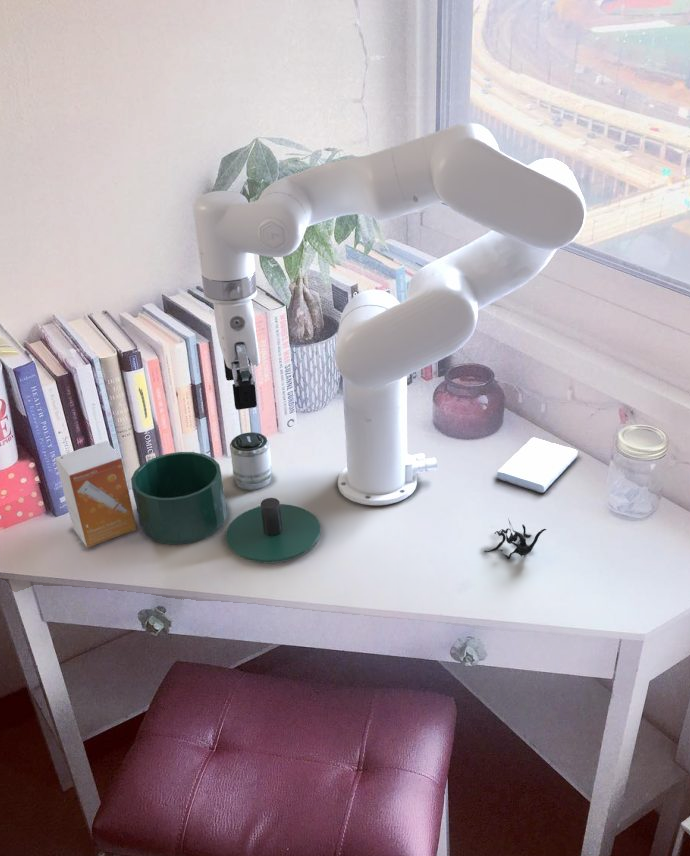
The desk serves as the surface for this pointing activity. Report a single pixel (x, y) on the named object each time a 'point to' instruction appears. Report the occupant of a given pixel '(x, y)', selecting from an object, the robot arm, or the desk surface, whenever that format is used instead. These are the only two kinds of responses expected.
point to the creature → (522, 547)
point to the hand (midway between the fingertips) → (241, 392)
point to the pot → (179, 497)
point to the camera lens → (251, 460)
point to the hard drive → (537, 465)
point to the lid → (273, 532)
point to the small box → (96, 493)
